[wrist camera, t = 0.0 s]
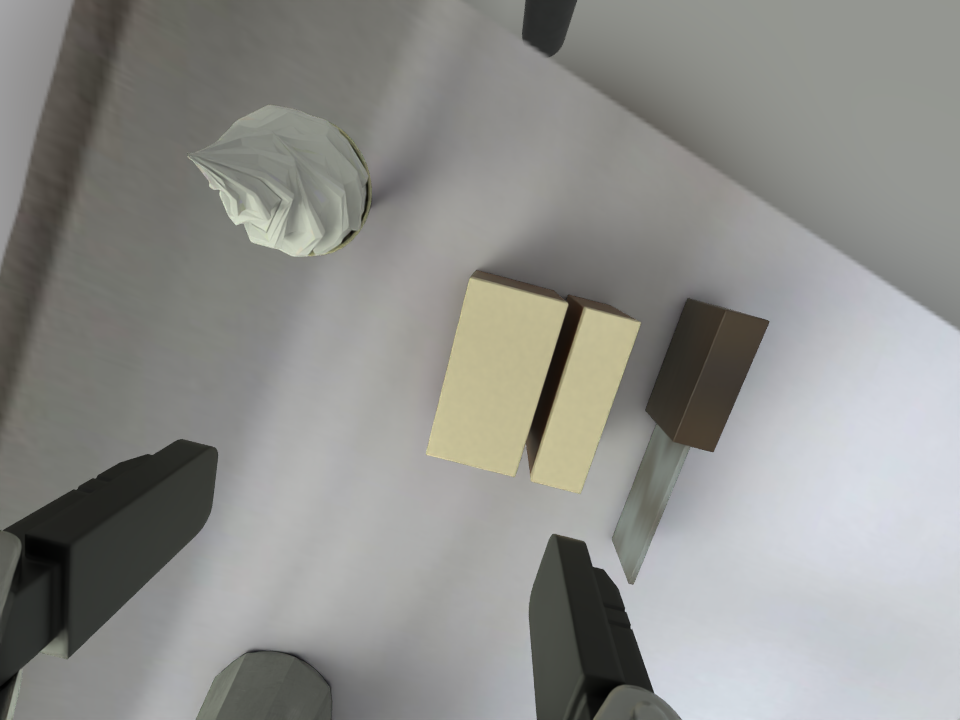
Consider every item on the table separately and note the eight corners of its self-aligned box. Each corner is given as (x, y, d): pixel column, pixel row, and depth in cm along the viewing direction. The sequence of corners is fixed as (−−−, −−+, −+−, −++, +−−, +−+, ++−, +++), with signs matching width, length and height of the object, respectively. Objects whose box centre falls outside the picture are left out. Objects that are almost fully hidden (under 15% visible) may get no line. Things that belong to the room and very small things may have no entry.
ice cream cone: (396, 265, 26) (262, 294, 11) (310, 232, 25) (61, 220, 11) (424, 175, 24) (314, 79, 10) (334, 141, 24) (88, -11, 10)
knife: (687, 297, 25) (725, 309, 21) (724, 307, 26) (770, 321, 21) (597, 535, 30) (614, 586, 25) (629, 543, 30) (652, 595, 25)
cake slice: (568, 294, 26) (586, 307, 20) (612, 305, 26) (641, 322, 20) (524, 435, 28) (530, 481, 23) (565, 446, 28) (580, 494, 23)
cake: (476, 269, 26) (469, 276, 20) (554, 290, 26) (569, 303, 20) (439, 413, 28) (425, 455, 22) (512, 432, 28) (514, 477, 23)
